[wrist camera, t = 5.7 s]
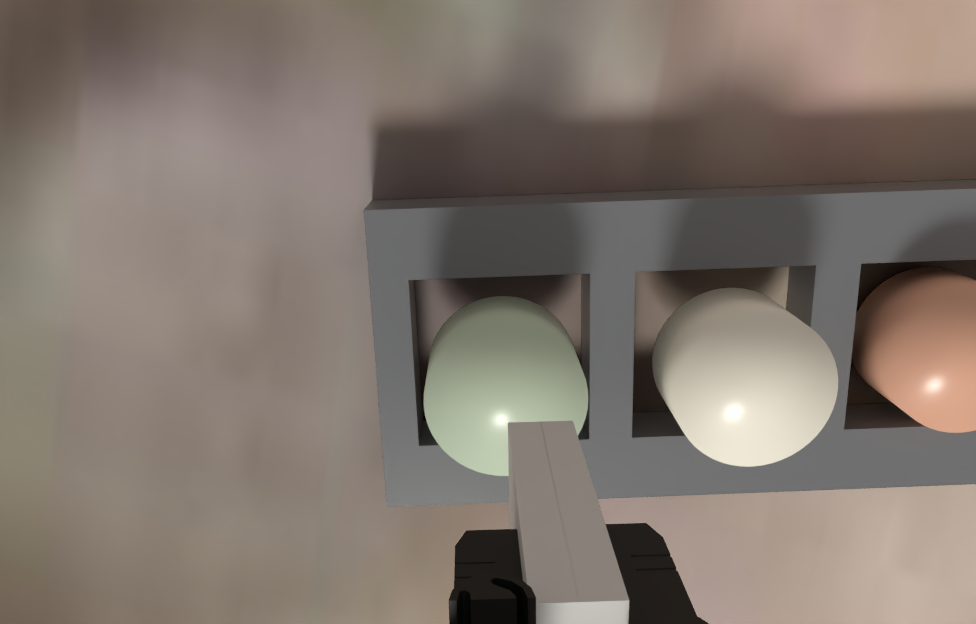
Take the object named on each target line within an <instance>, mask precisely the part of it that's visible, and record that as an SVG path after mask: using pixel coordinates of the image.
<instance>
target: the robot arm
mask: <svg viewBox="0 0 976 624" xmlns="http://www.w3.org/2000/svg"><path fill="white" fill-rule="evenodd" d="M508 465H509V528H510V529H504V530H472V531H466V532H465V533H464V535H463V536H462V537H461V539H460V540H459V542H458V543H457V544H456V546H455V581H454V589H453V590H452V593H451V596H450V598H449V620H450V624H708V623H707V622H705V621H704V620H702V619H701V618H699V617H697V615H696V613H695V610H694V608H693V606H692V604H691V601H690V599H689V597H688V594H687V592H686V590H685V587H684V585H683V583H682V580H681V578H680V576H679V573H678V571H676V566H675V564H674V562H673V560H672V557H670V553H669V550H668V548H667V546H666V543H665V541H664V539H663V537H662V536H661V535H659V534H658V533H657V532H656V531H655V530H654V529H652V528H651V527H650V526H649V525H648V524H647V523H634V524H605V521H604V518H603V515H602V512H601V509H600V505H599V502H598V499H597V496H596V493H595V489H594V486H593V483H592V480H591V477H590V474H589V470H588V467H587V464H586V461H585V458H584V454H583V451H582V448H581V445H580V442H579V438H578V435H577V432H576V429H575V426H574V423H573V421H542V422H508Z"/></svg>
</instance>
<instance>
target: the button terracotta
mask: <svg viewBox="0 0 976 624" xmlns="http://www.w3.org/2000/svg"><path fill="white" fill-rule="evenodd" d="M852 361H853V363H854V366H855V368H856V370H857V371H858V373H859V375H860V376H861V377H862V378H863V379H864V381H865V382H866V383H868V384H869V385H870V386H871V387H872V388H874V389H875V390H876V391H878V392H879V393H880V394H882V395H883V396H884V397H886V398H887V399H888V400H889V401H891V402H892V403H893V404H895V405H896V406H897V407H899V408H900V409H901V410H902V411H904V412H905V413H906V414H908V415H909V416H910V417H912V418H913V419H914V420H916V421H917V422H919V423H920V424H922V425H924V426H926V427H928V428H931V429H934V430H937V431H942V432H948V433H962V432H970V431H975V430H976V280H974V279H971V278H969V277H966V276H964V275H961V274H959V273H956V272H954V271H950V270H947V269H943V268H937V267H922V268H915V269H911V270H907V271H904V272H902V273H899V274H897V275H895V276H893V277H891V278H889V279H888V280H886V281H885V282H883V283H882V284H880V285H879V286H878V287H877V288H876V289H874V291H873V292H872V293H871V294H870V295H869V296H868V297H867V298H866V299H865V301H864V302H863V303H862V305H861V307H860V308H859V310H858V312H857V314H856V319H855V329H854V338H853V348H852Z"/></svg>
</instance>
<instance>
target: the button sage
mask: <svg viewBox="0 0 976 624" xmlns="http://www.w3.org/2000/svg"><path fill="white" fill-rule="evenodd" d="M587 410H588V388H587V383H586V378H585V376H584V373H583V370H582V368H581V365H580V362H579V360H578V357H577V354H576V352H575V349H574V347H573V344H572V341H571V339H570V337H569V335H568V333H567V331H566V329H565V328H564V326H563V325H562V324H561V322H560V321H559V320H558V319H557V318H556V317H555V316H554V315H553V314H552V313H550V312H549V311H548V310H547V309H545V308H544V307H542V306H540V305H539V304H536V303H534V302H532V301H529V300H526V299H523V298H519V297H512V296H495V297H488V298H484V299H480V300H477V301H474V302H472V303H470V304H468V305H466V306H464V307H462V308H461V309H459V310H458V311H457V312H455V313H454V314H453V315H452V316H451V317H450V318H449V319H448V320H447V321H446V322H445V323H444V324H443V326H442V327H441V328H440V330H439V332H438V333H437V335H436V337H435V339H434V342H433V344H432V348H431V351H430V357H429V364H428V370H427V377H426V383H425V390H424V412H425V417H426V421H427V424H428V427H429V429H430V431H431V434H432V435H433V437H434V439H435V440H436V442H437V443H438V444H439V446H440V447H441V448H442V449H443V450H444V451H445V452H446V453H447V454H448V455H449V456H450V457H451V458H453V459H454V460H455V461H457V462H458V463H460V464H461V465H463V466H465V467H467V468H469V469H472V470H474V471H477V472H480V473H484V474H488V475H495V476H509V465H508V422H542V421H573V423H574V426H575V429H576V432H577V435H579V433H580V431H581V429H582V427H583V424H584V421H585V419H586V414H587Z"/></svg>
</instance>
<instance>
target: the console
mask: <svg viewBox="0 0 976 624" xmlns="http://www.w3.org/2000/svg"><path fill="white" fill-rule="evenodd" d="M364 219H365V232H366V245H367V258H368V271H369V284H370V297H371V309H372V322H373V335H374V348H375V361H376V374H377V387H378V400H379V413H380V425H381V438H382V451H383V464H384V477H385V490H386V503H387V507H401V506H427V505H452V504H478V503H503V502H509V476H495V475H488V474H484V473H480V472H477V471H474V470H472V469H469V468H467V467H465V466H463V465H461V464H460V463H458V462H457V461H455V460H454V459H453V458H451V457H450V456H449V455H448V454H447V453H446V452H445V451H444V450H443V449H442V448H441V447H440V446H439V444H438V443H437V442H436V440H435V439H434V437H433V435H432V434H431V431H430V429H429V427H428V424H427V421H423V420H422V404H421V387H420V371H419V355H418V338H417V322H416V305H415V289H414V280H427V279H454V278H481V277H509V276H536V275H564V274H581V368H582V370H583V373H584V376H585V378H586V383H587V388H588V410H587V414H586V419H585V421H584V424H583V427H582V429H581V431H580V433H579V435H578V438H579V442H580V445H581V448H582V451H583V454H584V458H585V461H586V464H587V467H588V470H589V474H590V477H591V480H592V483H593V486H594V489H595V493H596V496H597V499H606V498H631V497H657V496H682V495H708V494H733V493H759V492H784V491H810V490H835V489H861V488H887V487H912V486H938V485H963V484H976V430H975V431H970V432H962V433H948V432H942V431H937V430H934V429H931V428H928V427H926V426H924V425H922V424H920V423H919V422H917V421H916V420H914V419H913V418H912V417H910V416H909V415H908V414H906V413H905V412H904V411H902V410H901V409H900V408H899V407H897V406H896V405H895V404H893V403H873V404H847V396H848V386H849V377H850V367H851V357H852V348H853V338H854V329H855V319H856V310H857V300H858V290H859V281H860V271H861V264H866V263H894V262H921V261H949V260H976V179H968V180H940V181H911V182H883V183H855V184H827V185H798V186H770V187H742V188H714V189H685V190H657V191H629V192H600V193H572V194H544V195H516V196H487V197H459V198H431V199H403V200H374V201H371V202H370V204H369V205H368V206H367V207H366V208H365V210H364ZM784 266H790V271H789V284H788V297H787V309H786V310H787V311H788V312H790V313H791V314H792V315H794V316H795V317H797V318H798V319H799V320H801V321H802V322H803V323H805V324H806V325H808V326H809V327H810V328H812V329H813V330H814V331H815V332H816V333H817V334H819V335H820V337H821V338H822V339H823V340H824V341H825V342H826V344H827V346H828V347H829V349H830V350H831V353H832V355H833V357H834V360H835V363H836V367H837V372H838V392H837V398H836V402H835V405H834V408H833V411H832V413H831V415H830V417H829V419H828V421H827V422H826V424H825V426H824V427H823V428H822V430H821V431H820V432H819V433H818V435H817V436H816V437H815V438H814V439H813V440H812V441H811V442H810V443H809V444H807V445H806V446H805V447H804V448H802V449H801V450H800V451H798V452H796V453H795V454H793V455H791V456H789V457H787V458H785V459H783V460H780V461H777V462H774V463H771V464H767V465H762V466H752V467H744V466H734V465H729V464H725V463H722V462H719V461H717V460H714V459H712V458H710V457H708V456H707V455H705V454H703V453H702V452H701V451H699V450H698V449H697V448H696V447H695V446H694V445H693V444H692V443H691V442H690V441H689V440H688V438H687V437H686V435H685V434H684V433H683V431H682V429H681V428H680V426H679V424H678V423H677V421H676V419H675V418H674V416H673V414H672V413H671V411H663V412H636V413H633V365H634V318H635V272H646V271H674V270H701V269H729V268H756V267H784Z"/></svg>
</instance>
